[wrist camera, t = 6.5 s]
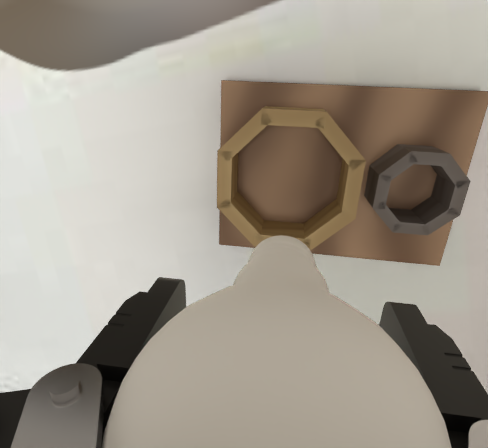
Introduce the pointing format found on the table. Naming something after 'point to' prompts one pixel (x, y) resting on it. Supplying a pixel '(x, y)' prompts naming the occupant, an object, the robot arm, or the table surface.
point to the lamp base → (345, 166)
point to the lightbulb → (274, 371)
